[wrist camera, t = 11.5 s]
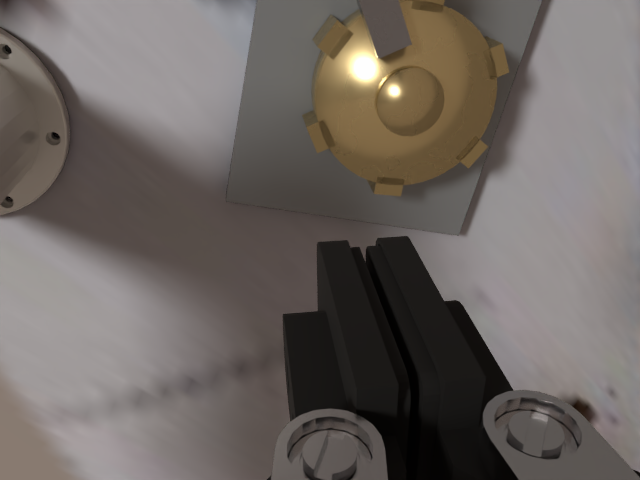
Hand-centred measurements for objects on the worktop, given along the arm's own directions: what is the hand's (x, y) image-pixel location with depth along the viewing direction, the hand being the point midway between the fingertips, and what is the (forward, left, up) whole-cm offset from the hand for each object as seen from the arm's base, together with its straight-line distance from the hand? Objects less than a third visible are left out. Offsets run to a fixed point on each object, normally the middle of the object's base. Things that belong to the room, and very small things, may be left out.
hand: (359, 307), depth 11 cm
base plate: (+7, -2, -29) cm, 30 cm away
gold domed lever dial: (+7, +1, -28) cm, 28 cm away
